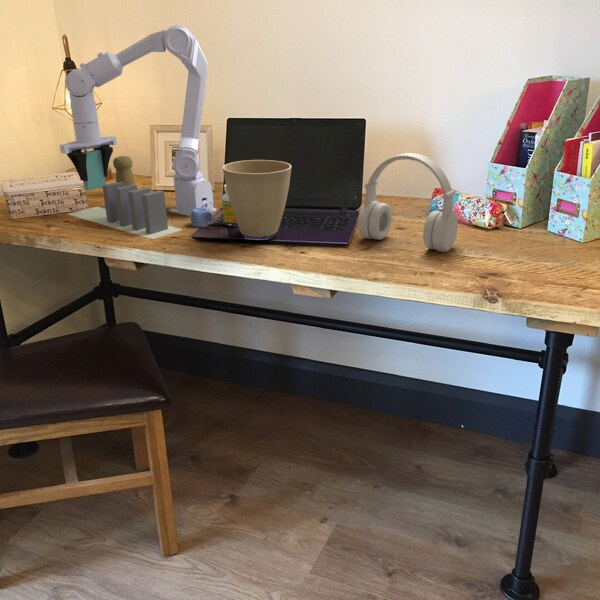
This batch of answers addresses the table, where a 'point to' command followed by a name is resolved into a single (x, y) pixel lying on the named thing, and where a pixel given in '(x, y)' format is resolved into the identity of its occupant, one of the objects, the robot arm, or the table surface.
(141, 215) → the domino
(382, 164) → the headphones
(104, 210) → the mat
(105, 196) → the domino
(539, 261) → the table surface
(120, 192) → the domino
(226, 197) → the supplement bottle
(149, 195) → the domino
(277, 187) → the plant pot
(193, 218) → the decorative dice
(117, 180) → the cork
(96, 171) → the domino
